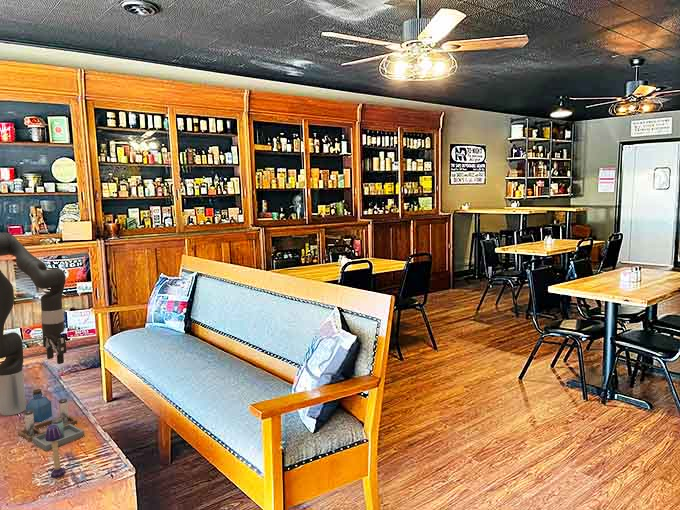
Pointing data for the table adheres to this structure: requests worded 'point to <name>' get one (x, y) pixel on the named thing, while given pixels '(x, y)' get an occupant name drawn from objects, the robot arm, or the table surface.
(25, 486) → the table surface
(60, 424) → the cylinder
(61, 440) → the dish
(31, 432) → the glass vial
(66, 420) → the canister
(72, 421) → the rack
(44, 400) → the perfume bottle
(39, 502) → the table surface
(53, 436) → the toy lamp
